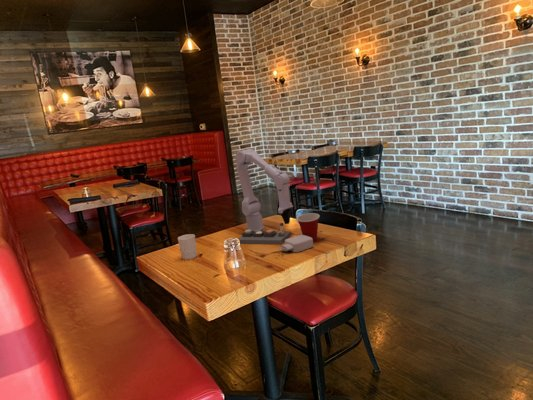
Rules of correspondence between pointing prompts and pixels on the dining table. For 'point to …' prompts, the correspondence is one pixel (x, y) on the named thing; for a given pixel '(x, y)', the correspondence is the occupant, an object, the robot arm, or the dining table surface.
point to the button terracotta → (269, 231)
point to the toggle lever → (281, 227)
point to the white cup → (187, 246)
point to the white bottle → (297, 243)
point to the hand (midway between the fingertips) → (287, 223)
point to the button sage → (248, 231)
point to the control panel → (264, 237)
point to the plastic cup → (309, 224)
